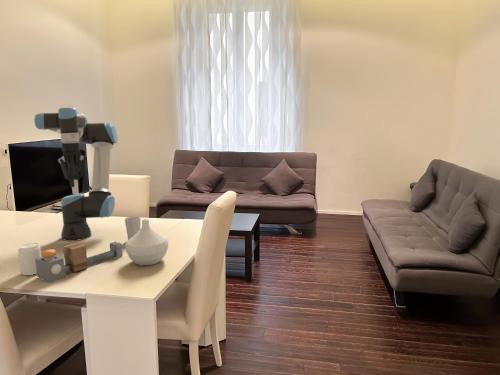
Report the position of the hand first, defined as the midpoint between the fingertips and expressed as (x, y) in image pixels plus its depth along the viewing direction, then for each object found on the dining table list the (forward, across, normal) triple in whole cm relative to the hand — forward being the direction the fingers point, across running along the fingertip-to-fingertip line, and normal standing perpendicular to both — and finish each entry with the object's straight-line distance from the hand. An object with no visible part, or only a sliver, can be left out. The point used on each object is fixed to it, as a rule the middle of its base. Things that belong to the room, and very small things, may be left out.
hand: (75, 193), depth 190 cm
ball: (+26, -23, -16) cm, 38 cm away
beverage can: (+30, -25, -4) cm, 39 cm away
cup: (+30, +28, -3) cm, 41 cm away
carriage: (+29, -12, -16) cm, 36 cm away
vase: (+30, +11, -35) cm, 47 cm away
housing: (+29, -23, -16) cm, 41 cm away
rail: (+29, -5, -16) cm, 34 cm away
